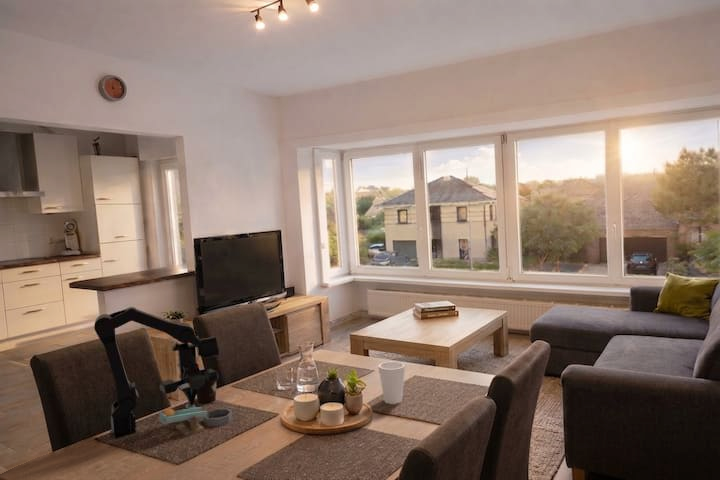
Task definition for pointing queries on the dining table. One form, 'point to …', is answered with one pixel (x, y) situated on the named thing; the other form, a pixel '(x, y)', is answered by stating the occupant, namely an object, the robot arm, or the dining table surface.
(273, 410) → the dining table surface
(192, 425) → the fulcrum
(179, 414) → the lever
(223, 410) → the bowl
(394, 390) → the foam cup
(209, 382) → the coffee mug
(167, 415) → the ball
